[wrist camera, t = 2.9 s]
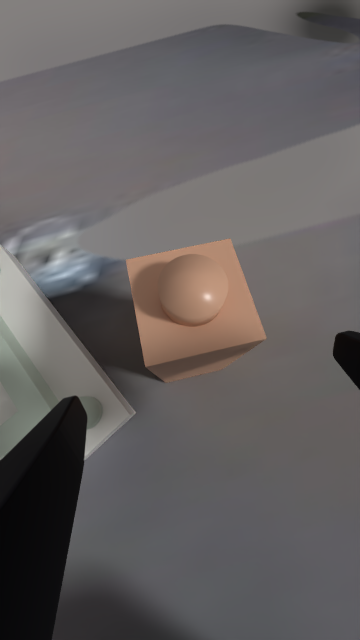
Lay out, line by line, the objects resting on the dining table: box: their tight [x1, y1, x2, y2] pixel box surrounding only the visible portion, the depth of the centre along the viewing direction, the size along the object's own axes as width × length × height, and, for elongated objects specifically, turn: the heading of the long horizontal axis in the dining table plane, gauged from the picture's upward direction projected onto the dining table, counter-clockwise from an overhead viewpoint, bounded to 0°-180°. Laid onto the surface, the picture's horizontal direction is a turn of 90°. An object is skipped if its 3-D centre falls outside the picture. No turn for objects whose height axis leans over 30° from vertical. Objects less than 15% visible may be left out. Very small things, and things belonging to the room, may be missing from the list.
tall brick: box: [126, 239, 267, 383], centre depth 13 cm, size 4×4×11 cm
